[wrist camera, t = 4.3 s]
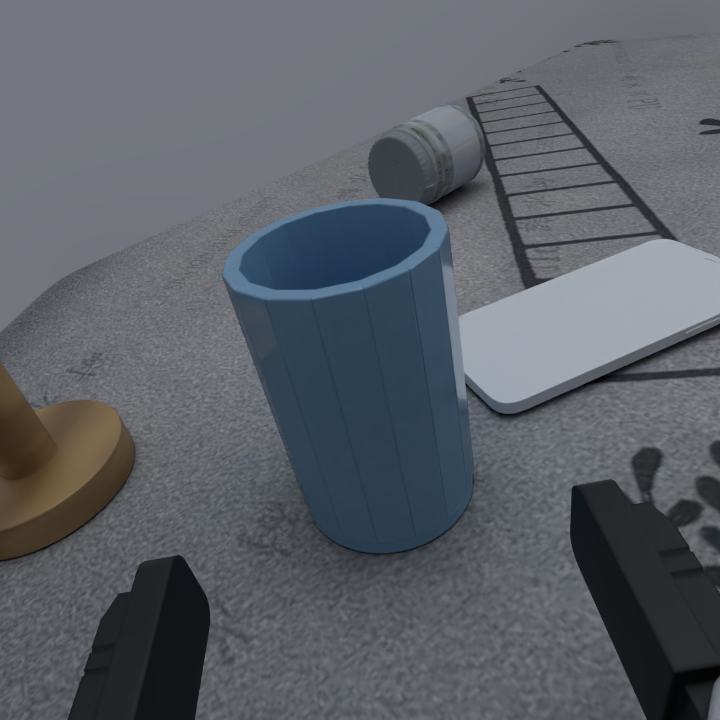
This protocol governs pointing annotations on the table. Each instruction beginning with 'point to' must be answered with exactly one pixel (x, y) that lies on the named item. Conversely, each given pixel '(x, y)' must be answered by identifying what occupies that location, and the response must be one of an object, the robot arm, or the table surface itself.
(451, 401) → the mug
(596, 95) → the table surface
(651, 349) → the smartphone
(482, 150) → the camera lens
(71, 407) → the stand
